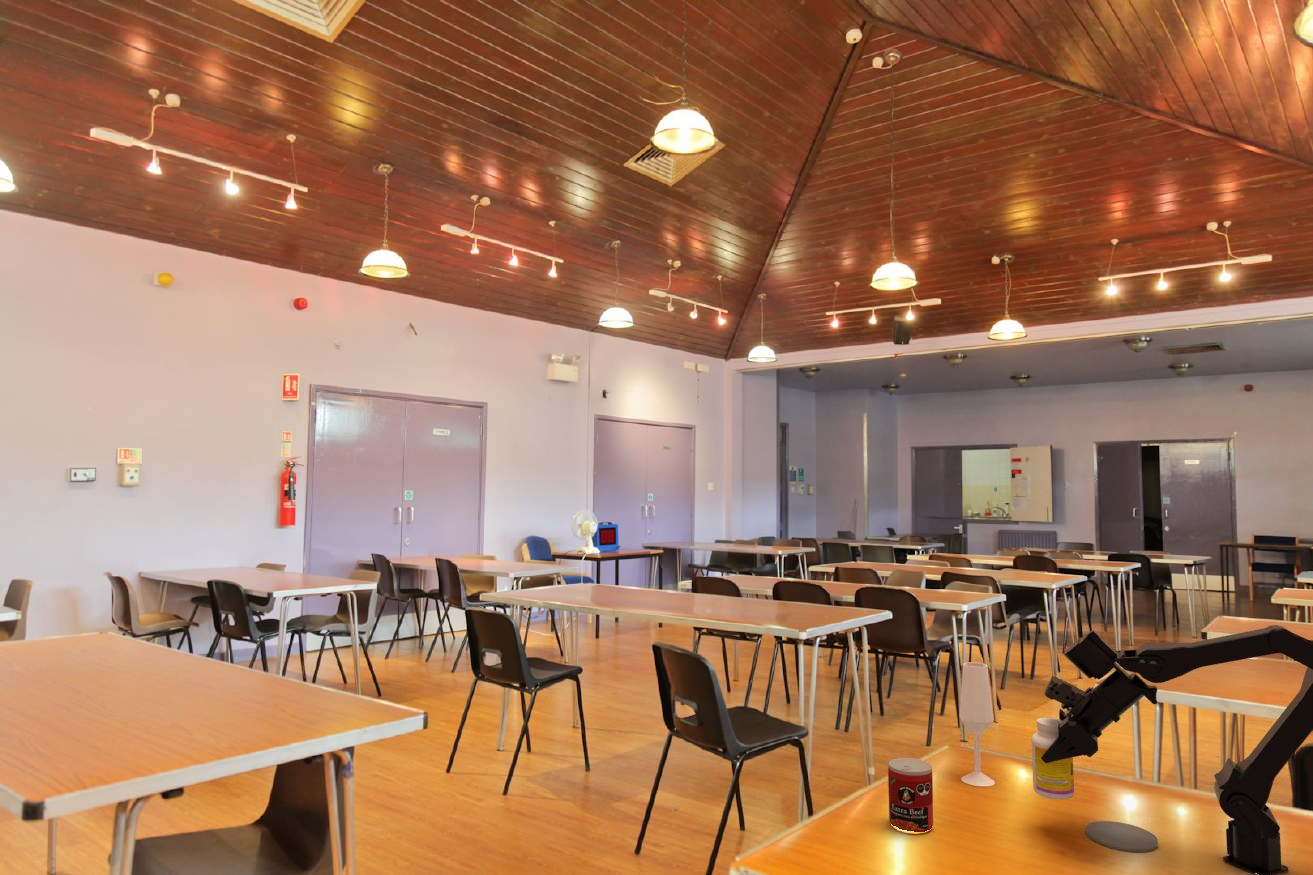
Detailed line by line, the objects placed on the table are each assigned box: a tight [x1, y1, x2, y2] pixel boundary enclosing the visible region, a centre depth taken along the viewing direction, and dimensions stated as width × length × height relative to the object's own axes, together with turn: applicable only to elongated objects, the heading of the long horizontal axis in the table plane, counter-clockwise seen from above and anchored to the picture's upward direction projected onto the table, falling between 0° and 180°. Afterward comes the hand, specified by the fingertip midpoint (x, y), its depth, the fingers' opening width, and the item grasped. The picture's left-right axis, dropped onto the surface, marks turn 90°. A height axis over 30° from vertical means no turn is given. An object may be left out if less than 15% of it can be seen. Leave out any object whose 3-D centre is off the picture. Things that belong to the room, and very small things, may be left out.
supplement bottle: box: [1031, 717, 1075, 801], centre depth 148 cm, size 7×7×13 cm
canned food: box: [887, 757, 934, 832], centre depth 149 cm, size 8×8×11 cm
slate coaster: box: [1085, 820, 1159, 853], centre depth 144 cm, size 11×11×1 cm
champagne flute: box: [959, 661, 996, 787], centre depth 173 cm, size 7×7×24 cm
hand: (1043, 754), depth 148 cm, fingers closed on supplement bottle, 7 cm apart
